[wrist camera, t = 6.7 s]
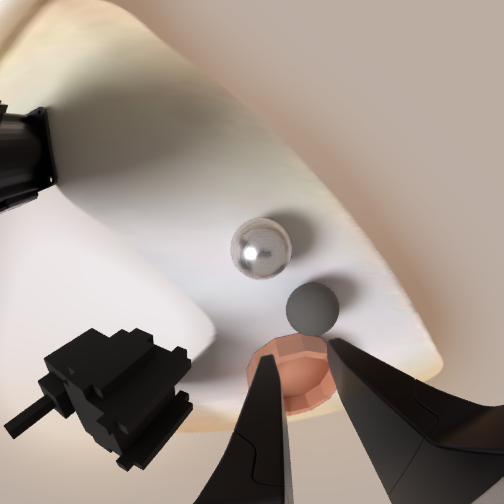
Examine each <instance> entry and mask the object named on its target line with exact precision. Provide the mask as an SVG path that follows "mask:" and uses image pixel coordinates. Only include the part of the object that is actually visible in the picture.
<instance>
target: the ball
mask: <svg viewBox="0 0 504 504" xmlns="http://www.w3.org/2000/svg"><path fill="white" fill-rule="evenodd" d="M286 315H287V319H288V321H289V323H290V325H291V326H292V327H293V328H294V329H295V330H296V331H297V332H299V333H301V334H303V335H306V336H318V335H321V334H324V333H325V332H327V331H329V330H330V329H331V328H332V327H333V326H334V324H335V323H336V321H337V319H338V315H339V303H338V299H337V297H336V295H335V294H334V292H333V291H332V290H331V289H330V288H328V287H327V286H325V285H322V284H319V283H307V284H304V285H301V286H300V287H298V288H297V289H295V290H294V291H293V292H292V294H291V295H290V297H289V299H288V301H287V305H286Z"/></svg>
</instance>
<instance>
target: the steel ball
mask: <svg viewBox="0 0 504 504" xmlns="http://www.w3.org/2000/svg"><path fill="white" fill-rule="evenodd" d="M230 252H231V257H232V260H233V263H234V264H235V266H236V267H237V269H238V270H239V271H240V272H241V273H242V274H244V275H245V276H247V277H249V278H252V279H256V280H265V279H270V278H273V277H275V276H277V275H278V274H280V273H281V272H282V271H283V270H284V269H285V268H286V266H287V265H288V263H289V261H290V258H291V254H292V244H291V240H290V237H289V235H288V233H287V232H286V230H285V229H284V228H283V227H282V226H281V225H280V224H278V223H277V222H275V221H273V220H270V219H265V218H257V219H252V220H250V221H247V222H245V223H244V224H243V225H241V226H240V227H239V228H238V229H237V231H236V232H235V234H234V235H233V238H232V241H231V246H230Z"/></svg>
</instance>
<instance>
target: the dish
mask: <svg viewBox="0 0 504 504" xmlns="http://www.w3.org/2000/svg"><path fill="white" fill-rule="evenodd" d="M268 354H273V355H274V358H275V361H276V365H277V368H278V371H279V375H280V379H281V385H282V391H283V398H284V404H285V410H286V416H291V415H295V414H299V413H303V412H307V411H310V410H313V409H314V408H316V407H317V406H319V405H321V404H322V403H324V402H325V401H327V400H328V399H330V398H331V396H332V395H333V394H334V392H335V391H336V389H337V388H336V385H335V382H334V379H333V376H332V374H331V371H330V368H329V365H328V361H327V344H326V343H325V341H324V340H323V339H322V338H321V337H316V336H306V335H303V334H301V333H297V334H293V335H288V336H284V337H280V338H276V339H273V340H272V341H270V342H269V343H268V344H266V345H265V346H263V347H262V348H261V349H259V350H258V351H256V352H255V353H254V355H253V357H252V359H251V361H250V363H249V365H248V368H247V370H246V373H247V380H248V387H249V388H250V385H251V382H252V380H253V377H254V374H255V371H256V368H257V365H258V362H259V360H260V357H261V356H263V355H268Z"/></svg>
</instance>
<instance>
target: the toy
mask: <svg viewBox="0 0 504 504" xmlns="http://www.w3.org/2000/svg"><path fill="white" fill-rule="evenodd" d="M44 361H45V363H46V366H47V368H48V371H49V373H48V374H47V375H46V376H44V377H43V378H41V379H40V380H38V383H39V385H40V387H41V390H42V392H43V394H44V396H43V397H42V398H40V399H39V400H38V401H36V402H35V403H34V404H32V405H31V406H30V407H28V408H27V409H25V410H24V411H23V412H21V413H20V414H19V415H17V416H16V417H15V418H13V419H12V420H10V421H9V422H8V423H6V424H5V425H4V427H5V428H6V430H7V431H8V433H9V434H10V435H11V437H12V438H13V439H15V438H16V437H17V436H19V435H20V434H22V433H23V432H24V431H25V430H27V429H28V428H29V427H31V426H32V425H33V424H34V423H36V422H37V421H38V420H40V419H41V418H42V417H43V416H45V415H46V414H47V413H49V412H50V411H51V410H52V409H55V410H56V411H57V412H59V413H60V414H61V415H62V416H63V417H64V418H65V419H67V418H68V417H69V416H70V415H71V414H73V413H74V412H75V411H76V413H77V415H78V417H79V419H80V421H81V423H82V425H83V427H84V429H85V431H86V432H87V433H89V434H90V435H91V436H93V438H94V440H95V442H96V443H98V444H99V445H100V446H102V447H103V448H104V449H106V450H107V451H109V452H110V453H111V452H112V451H114V452H115V453H116V454H118V455H120V457H119V458H118V459H117V460H116V462H117V464H118V466H119V467H121V468H122V469H124V470H125V471H127V472H128V471H129V470H130V469H131V468H132V466H133V465H135V466H137V467H138V468H140V469H142V470H144V469H145V468H146V467H147V465H148V464H149V463H150V462H151V461H152V459H153V458H154V457H155V456H156V455H157V454H158V452H159V451H160V450H161V449H162V448H163V446H164V445H165V444H166V443H167V441H168V440H169V439H170V437H171V436H172V435H173V434H174V433H175V431H176V430H177V429H178V428H179V426H180V425H181V424H182V423H183V421H184V420H185V419H186V418H187V416H188V415H189V414H190V413H191V411H192V410H193V403H191V402H188V401H189V394H188V393H186V392H184V391H181V390H180V391H179V392H178V393H177V395H176V396H175V387H174V386H175V385H176V384H177V383H178V382H179V381H180V380H181V378H182V377H183V376H184V375H185V374H186V373H187V372H188V371H189V370H190V369H191V359H188V358H187V350H186V349H183V348H181V347H179V346H177V347H176V348H175V349H174V350H173V351H172V352H171V351H169V350H166V349H164V348H161V347H159V346H157V345H155V344H154V342H153V335H151V334H149V333H147V332H144V331H142V330H140V329H138V328H136V329H134V330H133V331H131V332H130V333H129V332H127V331H125V330H123V329H121V330H120V331H118V332H117V333H115V334H114V335H112V336H111V337H110V338H109V337H107V336H105V335H103V334H102V333H100V332H98V331H96V330H95V329H93V328H91V329H89V330H88V331H86V332H84V333H83V334H81V335H80V336H78V337H77V338H75V339H73V340H72V341H71V342H69V343H67V344H65V345H64V346H62V347H61V348H59V349H58V350H56V351H54V352H53V353H51V354H50V355H48V356H47V357H45V358H44Z"/></svg>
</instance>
